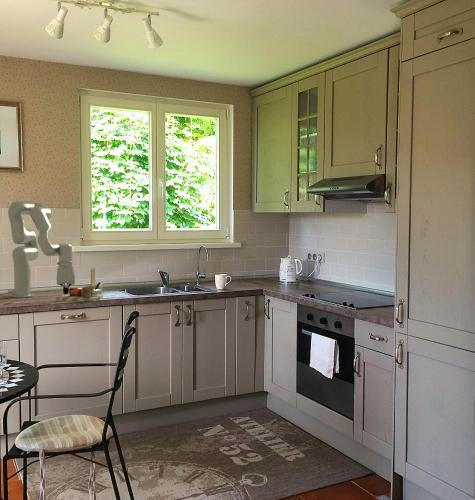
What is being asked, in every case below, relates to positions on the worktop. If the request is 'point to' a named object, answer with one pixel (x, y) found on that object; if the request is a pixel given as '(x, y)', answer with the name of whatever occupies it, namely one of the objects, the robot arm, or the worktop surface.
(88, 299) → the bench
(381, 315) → the worktop surface
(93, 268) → the flap
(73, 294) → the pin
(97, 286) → the hinge
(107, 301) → the worktop surface
